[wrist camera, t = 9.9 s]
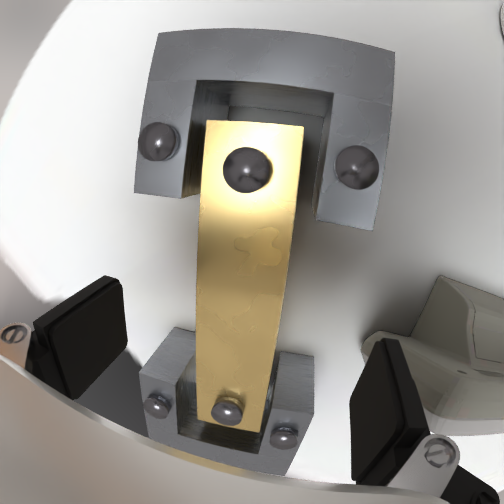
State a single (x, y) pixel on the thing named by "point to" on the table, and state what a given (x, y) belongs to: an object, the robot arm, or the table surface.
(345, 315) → the table surface
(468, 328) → the digital clock
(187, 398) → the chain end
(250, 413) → the link bar
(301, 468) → the table surface
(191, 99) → the bracket
